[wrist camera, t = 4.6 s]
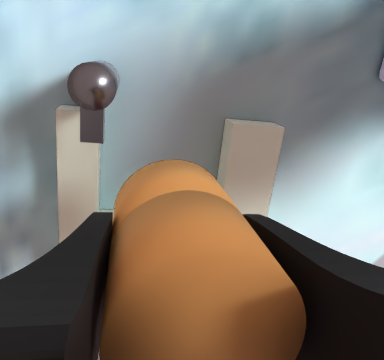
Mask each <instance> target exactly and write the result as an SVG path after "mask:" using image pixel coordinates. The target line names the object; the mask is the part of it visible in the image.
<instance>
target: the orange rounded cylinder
mask: <svg viewBox="0 0 384 360" xmlns="http://www.w3.org/2000/svg"><path fill="white" fill-rule="evenodd" d="M305 330H306V312H305V306H304V303H303V300H302V297H301V295H300V293H299V291H298V289H297V287H296V286H295V284H294V283H293V282H292V280H291V279H290V278H289V276H288V275H287V274H286V272H285V271H284V270H283V268H282V267H281V266H280V264H279V263H278V262H277V260H276V259H275V258H274V256H273V255H272V254H271V252H270V251H269V250H268V248H267V247H266V246H265V244H264V243H263V242H262V240H261V239H260V238H259V236H258V235H257V234H256V232H255V231H254V230H253V228H252V227H251V226H250V224H249V223H248V222H247V220H246V219H245V218H244V216H243V215H242V214H241V212H240V211H239V210H238V208H237V207H236V206H235V204H234V203H233V202H232V200H231V199H230V198H229V196H228V195H227V193H226V192H225V191H224V189H223V188H222V187H221V185H220V184H219V183H218V181H217V180H216V179H215V178H214V176H213V175H211V174H210V173H209V172H208V171H207V170H205V169H204V168H203V167H201V166H199V165H197V164H194V163H192V162H188V161H184V160H175V159H174V160H162V161H158V162H154V163H151V164H149V165H147V166H144V167H143V168H141V169H139V170H138V171H136V172H135V173H134V174H133V175H131V176H130V177H129V178H128V180H127V181H126V182H125V183H124V185H123V186H122V187H121V189H120V191H119V193H118V195H117V198H116V201H115V205H114V213H113V226H112V236H111V245H110V252H109V261H108V271H107V281H106V290H105V300H104V310H103V319H102V329H101V339H100V351H99V355H100V360H295V359H296V357H297V355H298V353H299V351H300V349H301V346H302V343H303V340H304V336H305Z"/></svg>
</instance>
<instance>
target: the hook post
mask: <svg viewBox="0 0 384 360" xmlns="http://www.w3.org/2000/svg"><path fill="white" fill-rule="evenodd" d="M118 85H119V75H118V73H117V71H116V69H115V68H114V67H113V66H112V65H111V64H109V63H107V62H105V61H94V62H86V63H82V64H80V65H78V66H76V67H75V68H74V69H73V70H72V71H71V73H70V75H69V78H68V83H67V86H68V92H69V94H70V96H71V98H72V100H73V101H74V102H75V103H76V104H77V105H78V106H80V142H85V143H101V144H103V142H104V123H105V108H106V107H107V106H108V105H109V104H110V103H111V102H112V101H113V99H114V97H115V94H116V91H117V88H118Z"/></svg>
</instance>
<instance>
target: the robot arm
mask: <svg viewBox="0 0 384 360" xmlns="http://www.w3.org/2000/svg"><path fill="white" fill-rule="evenodd" d="M379 77H380V79H381V81H383V82H384V59H383V62H382V66H381V70H380V74H379ZM243 216H244V218H245V219H246V220H247V222H248V223H249V224H250V226H251V227H252V228H253V230H254V231H255V232H256V234H257V235H258V236H259V238H260V239H261V240H262V242H263V243H264V244H265V246H266V247H267V248H268V250H269V251H270V252H271V254H272V255H273V256H274V258H275V259H276V260H277V262H278V263H279V264H280V266H281V267H282V268H283V270H284V271H285V272H286V274H287V275H288V276H289V278H290V279H291V280H292V282H293V283H294V284H295V286H296V287H297V289H298V291H299V293H300V295H301V297H302V300H303V303H304V306H305V312H306V330H305V336H304V340H303V343H302V346H301V349H300V351H299V353H298V355H297V357H296V359H295V360H384V268H382V267H378V266H375V265H372V264H369V263H366V262H364V261H361V260H358V259H356V258H353V257H350V256H348V255H345V254H343V253H340V252H338V251H335V250H333V249H331V248H329V247H327V246H324V245H322V244H320V243H318V242H316V241H314V240H312V239H310V238H308V237H306V236H304V235H302V234H300V233H298V232H296V231H294V230H292V229H290V228H288V227H286V226H284V225H282V224H280V223H278V222H276V221H274V220H272V219H270V218H268V217H266V216H263V215H260V214H243ZM112 226H113V212H93V213H92V214H91V215H90V216H89V217H88V218H87V219H86V220H85V221H84V222H83V223H82V224H81V225H80V226H79V227H78V228H77V229H75V230H74V231H73V232H72V233H71V234H70V235H69V236H68V237H67V238H66V239H64V240H63V241H62V242H61V243H59V244H58V245H57V246H56V247H54V248H53V249H52V250H51V251H49V252H48V253H46V254H45V255H43V256H42V257H40V258H39V259H37V260H36V261H34V262H32V263H31V264H29V265H28V266H26V267H24V268H22V269H20V270H18V271H17V272H15V273H13V274H11V275H9V276H7V277H5V278H3V279H1V280H0V360H97V359H98V352H99V347H100V339H101V329H102V319H103V310H104V300H105V290H106V281H107V271H108V261H109V252H110V245H111V236H112Z"/></svg>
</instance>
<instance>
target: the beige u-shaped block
mask: <svg viewBox="0 0 384 360" xmlns="http://www.w3.org/2000/svg"><path fill="white" fill-rule="evenodd" d="M284 130H285V127H282V126H280V125H278V124H276V123H274V122H262V121H250V120H238V119H225V126H224V133H223V140H222V147H221V154H220V161H219V168H218V175H217V181H218V183H219V184H220V185H221V187H222V188H223V189H224V191H225V192H226V193H227V195H228V196H229V198H230V199H231V200H232V202H233V203H234V204H235V206H236V207H237V208H238V210H239V211H240V212H241V214H242V215H243V214H260V215H263V216H266V217H267V215H268V210H269V205H270V200H271V195H272V190H273V185H274V180H275V175H276V170H277V165H278V160H279V155H280V150H281V145H282V140H283V135H284ZM56 144H57V183H58V223H59V243H61V242H62V241H63V240H64V239H66V238H67V237H68V236H69V235H70V234H71V233H72V232H73V231H74V230H75V229H77V228H78V227H79V226H80V225H81V224H82V223H83V222H84V221H85V220H86V219H87V218H88V217H89V216H90V215H91V214H92V213H93V212H113V213H114V210H99V190H100V143H85V142H80V106H70V105H61V106H59V107H58V108H57V109H56Z"/></svg>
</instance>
